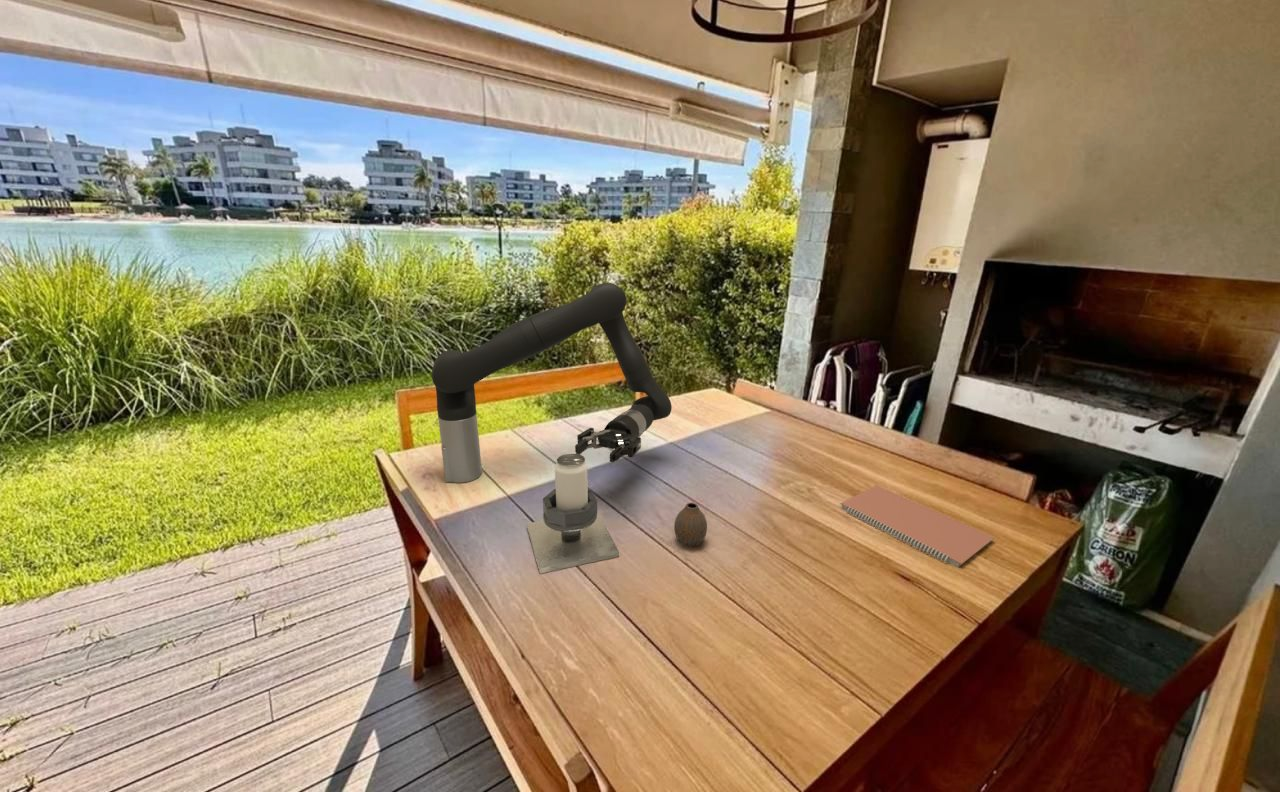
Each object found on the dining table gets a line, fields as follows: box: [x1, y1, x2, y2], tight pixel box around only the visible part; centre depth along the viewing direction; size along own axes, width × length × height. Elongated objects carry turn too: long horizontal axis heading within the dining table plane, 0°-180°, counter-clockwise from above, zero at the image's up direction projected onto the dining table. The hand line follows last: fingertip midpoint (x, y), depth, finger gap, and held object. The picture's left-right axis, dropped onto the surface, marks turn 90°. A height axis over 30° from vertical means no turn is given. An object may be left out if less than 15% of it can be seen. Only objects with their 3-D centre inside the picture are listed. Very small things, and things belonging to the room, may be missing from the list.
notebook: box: [840, 485, 995, 568], centre depth 114 cm, size 27×17×2 cm, turn 36°
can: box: [554, 452, 589, 511], centre depth 101 cm, size 6×6×12 cm
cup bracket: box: [526, 488, 620, 575], centre depth 104 cm, size 16×16×10 cm
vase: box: [673, 502, 708, 547], centre depth 105 cm, size 7×7×9 cm
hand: (593, 454), depth 109 cm, fingers open, 8 cm apart
